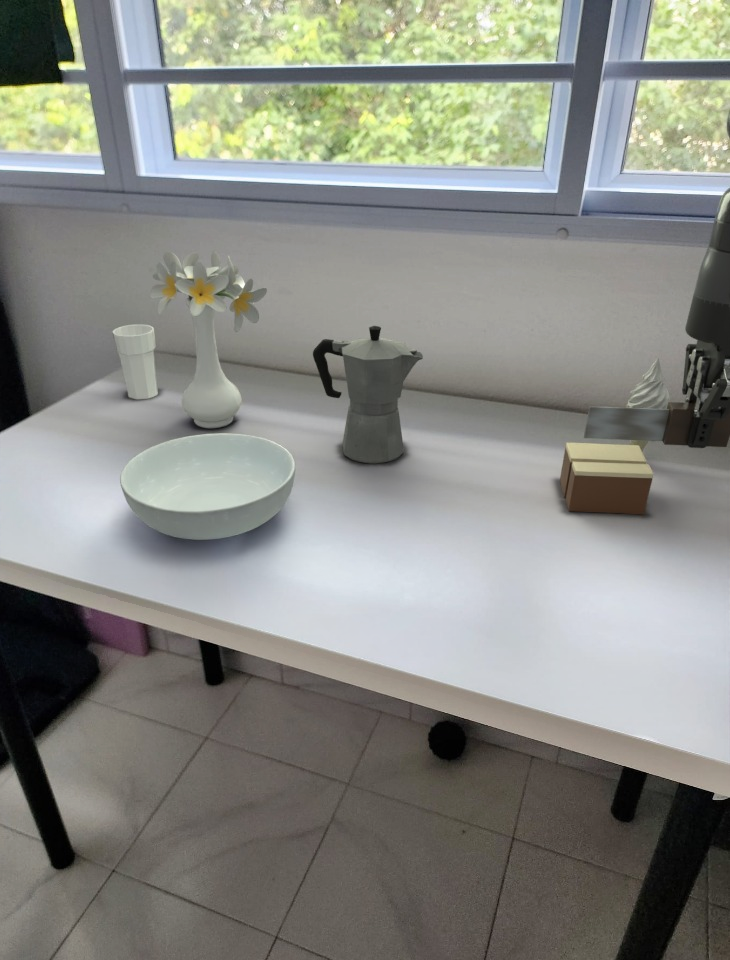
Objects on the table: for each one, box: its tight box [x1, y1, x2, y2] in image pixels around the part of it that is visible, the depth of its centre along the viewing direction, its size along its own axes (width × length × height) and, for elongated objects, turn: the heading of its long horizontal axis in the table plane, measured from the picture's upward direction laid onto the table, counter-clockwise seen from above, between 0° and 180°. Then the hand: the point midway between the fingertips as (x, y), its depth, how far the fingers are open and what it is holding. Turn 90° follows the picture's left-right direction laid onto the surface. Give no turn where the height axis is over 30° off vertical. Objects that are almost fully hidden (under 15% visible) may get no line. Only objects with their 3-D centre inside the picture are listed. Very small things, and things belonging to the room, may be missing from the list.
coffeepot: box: [312, 325, 424, 464], centre depth 104 cm, size 15×9×18 cm, turn 70°
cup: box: [111, 323, 159, 400], centre depth 126 cm, size 7×7×11 cm
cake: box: [559, 442, 648, 499], centre depth 95 cm, size 9×5×6 cm, turn 82°
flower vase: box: [148, 250, 268, 429], centre depth 111 cm, size 13×18×25 cm
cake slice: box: [565, 462, 655, 515], centre depth 92 cm, size 9×3×6 cm, turn 83°
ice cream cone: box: [626, 356, 670, 452], centre depth 100 cm, size 5×5×15 cm
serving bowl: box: [119, 432, 296, 541], centre depth 91 cm, size 21×21×7 cm
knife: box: [583, 401, 730, 448], centre depth 88 cm, size 16×2×4 cm, turn 82°
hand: (692, 440), depth 89 cm, fingers closed on knife, 2 cm apart
